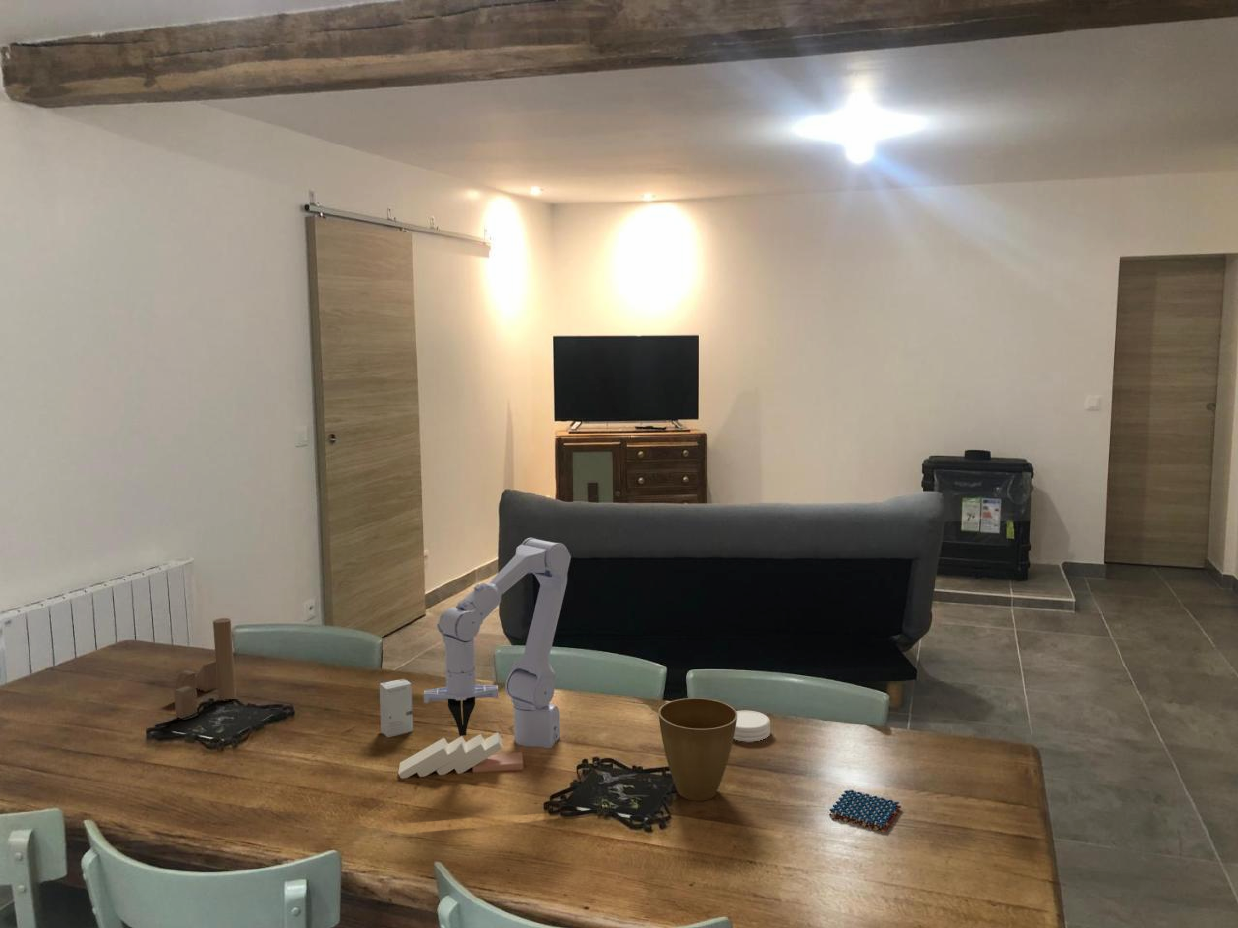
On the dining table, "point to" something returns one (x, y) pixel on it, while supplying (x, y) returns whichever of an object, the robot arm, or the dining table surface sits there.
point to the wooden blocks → (209, 673)
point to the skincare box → (396, 707)
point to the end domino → (500, 762)
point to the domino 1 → (423, 758)
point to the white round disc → (751, 726)
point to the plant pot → (697, 744)
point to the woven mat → (865, 810)
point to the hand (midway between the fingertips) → (462, 733)
